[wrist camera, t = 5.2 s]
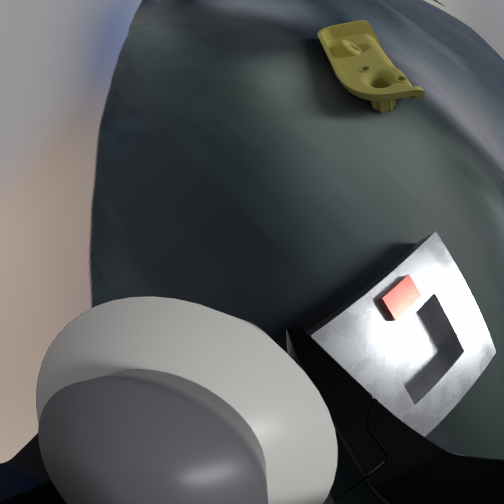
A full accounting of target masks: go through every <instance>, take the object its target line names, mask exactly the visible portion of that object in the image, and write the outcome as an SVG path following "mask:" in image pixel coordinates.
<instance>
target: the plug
mask: <svg viewBox="0 0 504 504" xmlns="http://www.w3.org/2000/svg"><path fill="white" fill-rule="evenodd" d="M36 407H37V415H38V423H39V429H38V439H39V447H40V452H41V456H42V460H43V462H44V465H45V468H46V470H47V473H48V475H49V477H50V479H51V481H52V482H53V484H54V486H55V487H56V489H57V491H58V492H59V494H60V495H61V496H62V498H63V499H64V500H65V502H66V503H67V504H323V503H324V501H325V499H326V498H327V496H328V494H329V491H330V489H331V487H332V484H333V482H334V477H335V473H336V468H337V453H338V446H337V440H336V433H335V428H334V425H333V422H332V419H331V416H330V413H329V410H328V408H327V406H326V404H325V402H324V400H323V399H322V397H321V395H320V393H319V391H318V390H317V388H316V387H315V385H314V384H313V383H312V381H311V380H310V379H309V377H308V376H307V374H306V373H305V372H304V371H303V370H302V369H301V368H300V367H299V366H298V365H297V363H296V362H295V361H294V360H293V359H292V358H291V357H290V356H289V355H288V354H287V353H286V352H285V351H284V350H283V349H282V348H281V347H279V346H278V345H277V344H276V343H275V342H274V341H273V340H272V339H271V338H270V337H269V336H268V335H267V334H266V333H265V332H264V331H263V330H261V329H260V328H259V327H257V326H256V325H254V324H252V323H250V322H247V321H244V320H241V319H239V318H236V317H233V316H230V315H227V314H225V313H222V312H219V311H216V310H213V309H211V308H208V307H205V306H202V305H200V304H195V303H191V302H187V301H182V300H178V299H171V298H161V297H131V298H125V299H119V300H113V301H110V302H107V303H104V304H101V305H98V306H95V307H93V308H92V309H90V310H88V311H86V312H84V313H82V314H80V315H79V316H78V317H76V318H75V319H74V320H72V321H71V322H70V323H68V324H67V325H66V327H64V329H63V330H62V331H61V332H60V333H59V334H58V335H57V336H56V338H55V339H54V341H53V342H52V344H51V345H50V347H49V348H48V351H47V353H46V355H45V357H44V359H43V362H42V365H41V369H40V372H39V376H38V382H37V390H36Z"/></svg>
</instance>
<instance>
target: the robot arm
mask: <svg viewBox="0 0 504 504" xmlns="http://www.w3.org/2000/svg"><path fill="white" fill-rule="evenodd" d="M286 338H287V350H288V355H289V356H290V357H291V358H292V359H293V360H294V361H295V362H296V363H297V365H298V366H299V367H300V368H301V369H302V370H303V371H304V372H305V373H306V374H307V376H308V377H309V379H310V380H311V381H312V383H313V384H314V385H315V387H316V388H317V390H318V391H319V393H320V395H321V397H322V399H323V400H324V402H325V404H326V406H327V408H328V410H329V413H330V416H331V419H332V422H333V425H334V428H335V433H336V440H337V446H338V453H337V468H336V473H335V477H334V482H333V484H332V487H331V489H330V493H331V496H332V499H333V500H334V501H333V502H334V504H504V460H500V459H489V458H479V457H472V456H465V455H459V454H455V453H452V452H449V451H447V450H445V449H443V448H441V447H439V446H438V445H436V444H435V443H433V442H432V441H430V440H429V439H427V438H426V437H424V436H423V435H421V434H420V433H418V432H417V431H415V430H414V429H413V428H411V427H410V426H408V425H407V424H406V423H404V422H403V421H401V420H400V419H399V418H397V417H396V416H395V415H394V414H393V413H391V412H390V411H389V410H388V409H387V408H386V407H384V406H383V405H382V404H381V403H380V402H379V401H378V400H377V399H376V398H373V396H372V395H371V394H370V393H369V392H368V391H367V390H366V389H365V388H364V387H363V386H362V385H361V384H360V383H359V382H358V381H357V380H356V379H355V378H354V377H352V376H351V375H350V374H349V373H348V372H347V371H346V370H345V369H344V368H343V367H342V366H341V365H340V364H339V363H338V362H337V361H336V360H335V359H334V358H333V357H332V356H331V355H330V354H328V353H327V352H326V351H325V350H324V349H323V348H322V347H321V346H320V345H319V344H318V343H317V342H316V341H315V340H314V339H313V338H312V337H311V336H310V335H309V334H308V333H307V332H306V331H305V330H304V329H303V328H302V327H301V326H293V327H288V328H287V329H286ZM0 504H67V503H66V502H65V500H64V499H63V498H62V496H61V495H60V494H59V492H58V491H57V489H56V487H55V486H54V484H53V482H52V481H51V479H50V477H49V475H48V473H47V470H46V468H45V465H44V462H43V460H42V456H41V452H40V447H39V439H38V433H37V435H36V436H35V437H34V438H33V439H32V440H31V441H30V442H29V443H28V444H27V445H26V446H25V447H24V448H22V450H20V451H19V453H17V454H16V455H15V456H14V457H13V458H12V459H11V460H9V461H7V462H5V463H1V464H0Z"/></svg>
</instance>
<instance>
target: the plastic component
mask: <svg viewBox="0 0 504 504" xmlns="http://www.w3.org/2000/svg"><path fill="white" fill-rule="evenodd" d="M318 37H319V40H320V42H321V44H322V47H323V49H324V51H325V53H326V55H327V57H328V59H329V62H330V64H331V66H332V68H333V71H334V73H335V75H336V77H337V79H338V80H339V81H340V83H341V84H342V85H343V86H344V87H345V88H346V89H347V90H348V91H349V92H350V93H352V94H353V95H355V96H357V97H359V98H362V99H366V100H370V103H371V104H372V108H373V109H374V110H376V109H377V110H380V112H382V113H383V111H389V110H390V111H393V107H394V106H396V99H400V98H405V97H409V98H411V99H413V100H419V99H423V97H424V94H425V92H424V91H423V89H422V88H421V87H418V86H414V87H412V85H411V84H410V82H409V81H408V79H407V77H406V76H405V75H404V74H403V73H402V72H401V71H400V70H399V69H397V68H395V66H394V65H393V64H392V62H391V61H390V59H389V58H388V57H387V56H386V54H385V53H384V52H383V50H382V48H381V46H380V44H379V41H378V39H377V37H376V35H375V33H374V30H373V28H372V26H371V25H370V23H369V22H367V21H364V20H360V21H354V22H348V23H343V24H338V25H333V26H329V27H326V28H323V29H321V30H320V31H319V32H318Z"/></svg>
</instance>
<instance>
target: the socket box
mask: <svg viewBox="0 0 504 504" xmlns="http://www.w3.org/2000/svg"><path fill="white" fill-rule="evenodd" d="M306 332H307V333H308V334H309V335H310V336H311V337H312V338H313V339H314V340H315V341H316V342H317V343H318V344H319V345H320V346H321V347H322V348H323V349H324V350H325V351H326V352H327V353H328V354H330V355H331V356H332V357H333V358H334V359H335V360H336V361H337V362H338V363H339V364H340V365H341V366H342V367H343V368H344V369H345V370H346V371H347V372H348V373H349V374H350V375H351V376H352V377H354V378H355V379H356V380H357V381H358V382H359V383H360V384H361V385H362V386H363V387H364V388H365V389H366V390H367V391H368V392H369V393H370V394H371V395H372V396H373V398H376V399H377V400H378V401H379V402H380V403H381V404H382V405H383V406H384V407H386V408H387V409H388V410H389V411H390V412H391V413H393V414H394V415H395V416H396V417H397V418H399V419H400V420H401V421H403V422H404V423H406V424H407V425H408V426H410V427H411V428H413V429H414V430H415V431H417V432H418V433H420V434H421V435H423V436H424V437H425V436H426V435H427V434H428V433H429V432H430V431H431V430H432V429H433V428H434V427H436V426H437V425H438V423H439V422H440V421H441V420H442V419H443V418H444V417H445V416H446V415H447V414H448V413H449V412H450V411H451V410H452V409H453V408H454V406H455V405H456V404H457V403H458V402H459V401H460V400H461V398H462V397H463V396H464V395H465V394H466V392H467V391H468V390H469V389H470V387H471V386H472V385H473V384H474V382H475V381H476V380H477V378H478V377H479V376H480V374H481V373H482V372H483V370H484V369H485V368H486V366H487V365H488V363H489V362H490V360H491V359H492V357H493V356H494V354H495V353H496V350H495V347H494V345H493V342H492V339H491V337H490V334H489V332H488V329H487V327H486V324H485V322H484V320H483V317H482V315H481V313H480V311H479V309H478V306H477V304H476V302H475V300H474V298H473V296H472V294H471V292H470V290H469V288H468V286H467V284H466V282H465V280H464V278H463V277H462V275H461V273H460V271H459V269H458V267H457V266H456V264H455V262H454V260H453V259H452V257H451V255H450V254H449V252H448V250H447V249H446V247H445V245H444V244H443V242H442V241H441V239H440V238H439V236H438V234H437V233H436V231H435V232H434V233H432V234H430V235H429V236H427V237H426V238H424V239H422V240H421V241H419V242H417V243H416V244H415V245H414V246H413V247H412V248H410V249H409V250H408V251H407V252H406V253H405V254H404V255H403V256H402V257H400V258H399V259H398V260H397V261H396V262H395V263H394V264H392V265H391V266H390V267H389V268H388V269H387V270H385V271H384V272H383V273H382V274H381V275H379V276H378V277H377V278H376V279H375V280H373V281H372V282H371V283H370V284H369V285H367V286H366V287H365V288H364V289H362V290H361V291H360V292H359V293H357V294H356V295H355V296H353V297H352V298H351V299H350V300H348V301H347V302H346V303H344V304H343V305H342V306H340V307H339V308H338V309H336V310H335V311H334V312H332V313H331V314H330V315H328V316H327V317H326V318H324V319H323V320H322V321H320V322H319V323H317V324H316V325H315V326H313V327H312V328H310V329H309V330H307V331H306Z"/></svg>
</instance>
